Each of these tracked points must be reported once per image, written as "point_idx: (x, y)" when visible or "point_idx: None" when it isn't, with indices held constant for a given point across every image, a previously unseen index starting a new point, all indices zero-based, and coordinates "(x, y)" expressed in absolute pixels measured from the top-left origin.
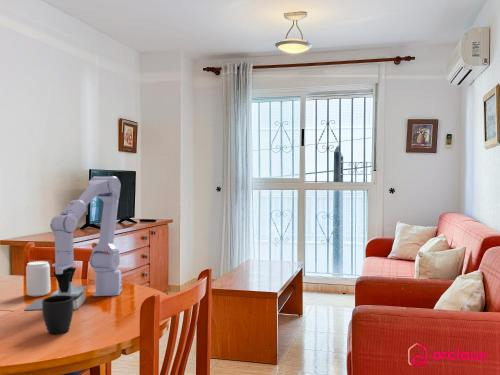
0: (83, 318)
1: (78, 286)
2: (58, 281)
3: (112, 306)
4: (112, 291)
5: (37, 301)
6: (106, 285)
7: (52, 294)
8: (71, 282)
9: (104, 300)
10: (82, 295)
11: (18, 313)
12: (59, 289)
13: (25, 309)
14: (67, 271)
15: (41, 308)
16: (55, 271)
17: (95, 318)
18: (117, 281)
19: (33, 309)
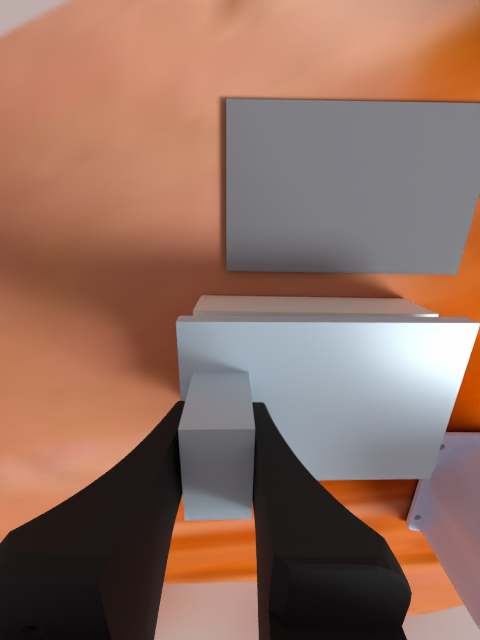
0: (69, 454)
1: (428, 439)
2: (115, 471)
3: (234, 520)
4: (434, 520)
5: (436, 131)
6: (461, 536)
7: (190, 331)
8: (213, 519)
9: (341, 484)
10: None
11: (167, 81)
12: (188, 400)
13: (233, 109)
14: (262, 631)
15: (241, 221)
16: (66, 593)
17: (71, 492)
18: (465, 599)
19: (227, 172)
